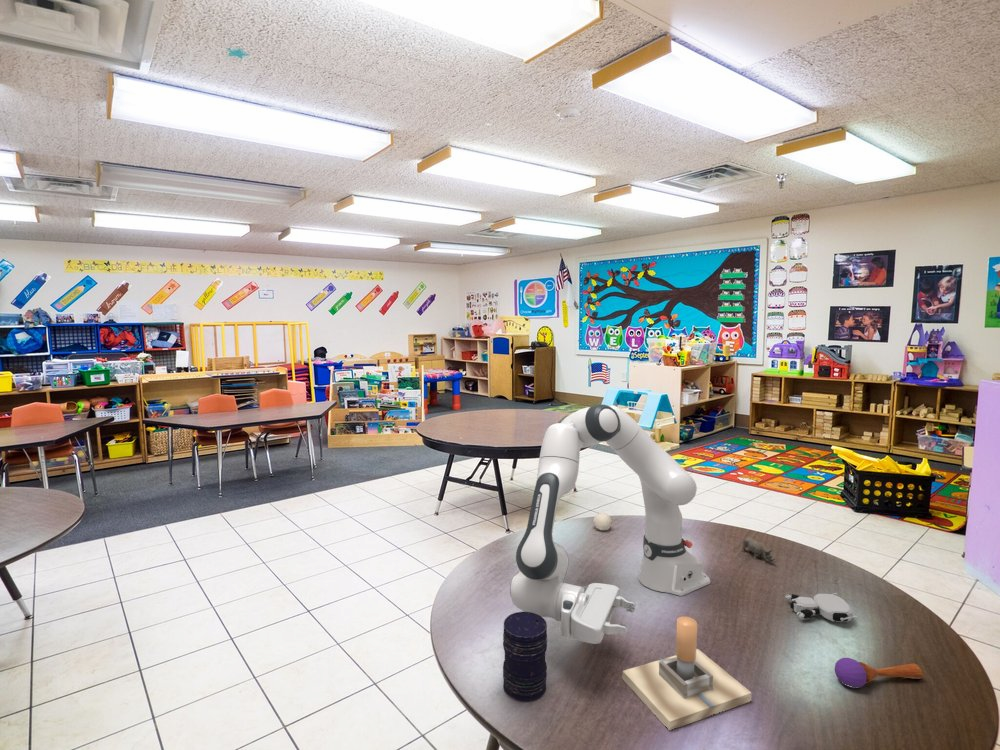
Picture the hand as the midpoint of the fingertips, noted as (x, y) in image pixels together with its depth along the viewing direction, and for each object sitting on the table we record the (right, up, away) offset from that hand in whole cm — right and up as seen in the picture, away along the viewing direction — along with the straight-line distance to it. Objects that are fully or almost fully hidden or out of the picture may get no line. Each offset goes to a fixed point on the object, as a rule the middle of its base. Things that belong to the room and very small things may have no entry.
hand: (630, 618), depth 117 cm
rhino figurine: (+60, -8, +60) cm, 85 cm away
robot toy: (+60, -12, +25) cm, 66 cm away
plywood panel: (+11, -14, -4) cm, 18 cm away
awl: (+11, -12, -4) cm, 17 cm away
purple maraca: (+56, -14, -1) cm, 58 cm away
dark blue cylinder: (-25, -14, -3) cm, 29 cm away
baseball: (+10, -5, +84) cm, 85 cm away
